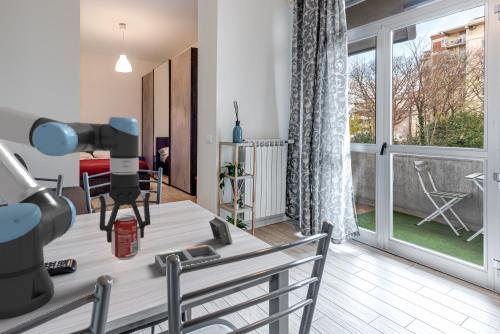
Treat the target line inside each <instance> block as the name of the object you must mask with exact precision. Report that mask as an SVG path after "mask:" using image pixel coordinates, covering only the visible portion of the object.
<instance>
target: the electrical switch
mask: <svg viewBox="0 0 500 334" xmlns="http://www.w3.org/2000/svg"><path fill="white" fill-rule="evenodd" d="M209 226H210V228H211V232H212V235H213V239H215V240H216V241H217V242H218V243H220V244H221V245H223V246H224V245H227V244H230V245H231V244H232V243H233V239H232V235H231V232H230V227H229V224H228V222H227V221H226V220H225V219H223V218H221V217H219V216H218V215H214V218H212V219H211V220H209Z"/></svg>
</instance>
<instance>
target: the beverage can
mask: <svg viewBox="0 0 500 334" xmlns="http://www.w3.org/2000/svg"><path fill="white" fill-rule="evenodd" d="M137 226H138V221H137V219H136V216H135V215H133V214H122V215H117V216H116V219H115V222H114V225H113V229H114V231H115V254H113V255H114V257H115V258H117V260H119V261H130V260H132V259H134V258H135V257H136V256H137V254H138V252H139V251H138V247H137Z"/></svg>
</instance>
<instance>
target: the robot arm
mask: <svg viewBox="0 0 500 334" xmlns="http://www.w3.org/2000/svg"><path fill="white" fill-rule="evenodd" d="M138 122H139V121H138V120H137V119H136V118H134V117H127V116H126V117H123V116H122V117H121V116H120V117H119V116H110V117H109V118H108V123H91V122H90V123H88V122H79V121H78V122H63V121H59V120H56V119H52V118H48V117H44V116H41V115H38V114H33V113H30V112H26V111H23V110H20V109H15V108H13V107H10V106H5V105H1V104H0V195H1V197H2V198H3V199H4V200H5V201H6V203H7V205H6V206H4V205H3V206H0V320H1V319H7V318H8V319H9V318H15V317H18V316H20V315H24V314H28V313H30V312H32V311H34V310H36V309H39V308H40V307H42V306H44V305H46V304H47V303H48V302H50V300H51V299H53V297H54V294H55V284H54V282H53V279H52V278H51V275H50V274H49V272H48V270H47V267H46V266H45V259H44V258H45V256H44V247H45V246H47V245H49V244H50V243H52V242H54V241H55V240H57V239H59V238H60V237H63V235H65V234H66V233H68V231H69V230H71V228H72V227H73V226H74V224H75V222H76V217H77V211H76V207H75V205H74V203H73V202H72V201H71V200H70V199H68V198H67V197H66V196H64V195H63V196H62V195H59V194H58V195H57V194H56V193H54V191H53V190H52V189H51V188H50V187H49V186H46V185H40V184H39V183H38V181H37V180H36V179H35V178H34V177H33V176H32V175H31V173H30V172H29V171H28V170H27V168H26V167H25V166H24V165H23V164H22V163H21V161H19V158H17V157H16V156H15V154H14V153H13V152H12V151H11V150H10V148H9V147H8V146H7V145H6V144H5V142H4V141H2V140H5V141H9V142H13V143H16V144H20V145H22V146H24V145H25V146H28V147H32V148H35V149H36V150H37V151H38V152H40V153H41V154H43V155H45V156H49V157H50V156H51V157H62V156H67V155H70V154H75V153H81V152H86V151H88V152H90V151H94V152H95V151H99V152H101V151H102V152H109V171H110V172H111V173H110V175H109V179H110V180H109V181H110V182H109V183H110V187H109V188H110V189H109V191H108V192H106V193H104V194H102V193H100V194H98V199H99V201H100V211H99V230H100V231H101V232H106V241H107V243H111V244H110V246H111V255H114V254H115V231H114V222H115V221H116V218H117V217H118V212H119V211H120V208H121V206H131V208H132V211H133V213H134V216H135V219H136V220H137V247H138V252H139V251H141V239H144V237H145V227H146V226H150V225H151V216H150V215H151V212H150V202H149V200H150V197H151V192H149V191H148V190H145V191H144V190H141V188H140V175H139V173H138V171H139V170H140V169H139V167H140V165H139V160H140V159H139V140H140V139H139V136H140V134H139V125H138ZM139 196H140V198H141V199H142V205H143V216H144V220H143V218H142V216H141V213H140V211H139V208H138V204H137V202H136V201H137V199H138V198H139ZM109 198H111V199H112V201H113V202H114V203H113V207H112V210H111V213H110V215H109V218H108V222H107V224H106V216H107V215H106V213H107V203H106V202H108V201H109Z"/></svg>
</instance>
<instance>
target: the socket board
mask: <svg viewBox="0 0 500 334" xmlns="http://www.w3.org/2000/svg"><path fill="white" fill-rule="evenodd" d="M172 254H175V255H178V256H179V258H180V259H179V260H182V261H180V262H181V266H186V265H191V264H197V263H201V262H205V261H210V260H214V259H219V258H221V254H220V253H219V252H218V251H217V250H216V249H215V248H214V247H212V245H207V244H203V245H198V246H193V247H187V248H186V249H183V250H182V249H176V250H169V251H163V252H159V253H158V254H155V255H154V263H155V265H156V267H157V268H158V270H159V273H160V274H161V275H162V276H164V275H167V274H166V265H167V264H164V263H166V257H167V256H169V255H172ZM201 255H209V256H204V257H203V256H202V257H198V256H201ZM194 257H198V258H194Z"/></svg>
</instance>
